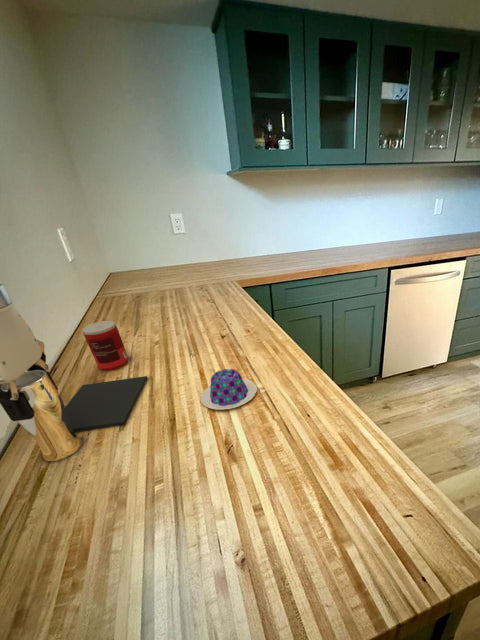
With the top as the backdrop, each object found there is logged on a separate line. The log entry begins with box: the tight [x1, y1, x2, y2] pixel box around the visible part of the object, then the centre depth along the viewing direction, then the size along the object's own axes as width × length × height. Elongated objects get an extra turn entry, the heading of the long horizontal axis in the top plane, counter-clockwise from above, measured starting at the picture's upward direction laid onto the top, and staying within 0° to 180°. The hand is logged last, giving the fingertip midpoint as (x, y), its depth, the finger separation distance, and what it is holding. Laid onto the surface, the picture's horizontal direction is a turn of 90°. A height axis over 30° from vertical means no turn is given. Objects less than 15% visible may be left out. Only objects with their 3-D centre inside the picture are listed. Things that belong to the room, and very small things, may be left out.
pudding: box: [200, 368, 258, 411], centre depth 71 cm, size 12×12×5 cm
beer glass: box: [1, 370, 82, 462], centre depth 58 cm, size 7×7×15 cm
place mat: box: [64, 375, 148, 433], centre depth 74 cm, size 15×18×1 cm
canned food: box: [82, 320, 129, 372], centre depth 88 cm, size 8×8×11 cm
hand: (36, 404), depth 56 cm, fingers closed on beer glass, 7 cm apart
